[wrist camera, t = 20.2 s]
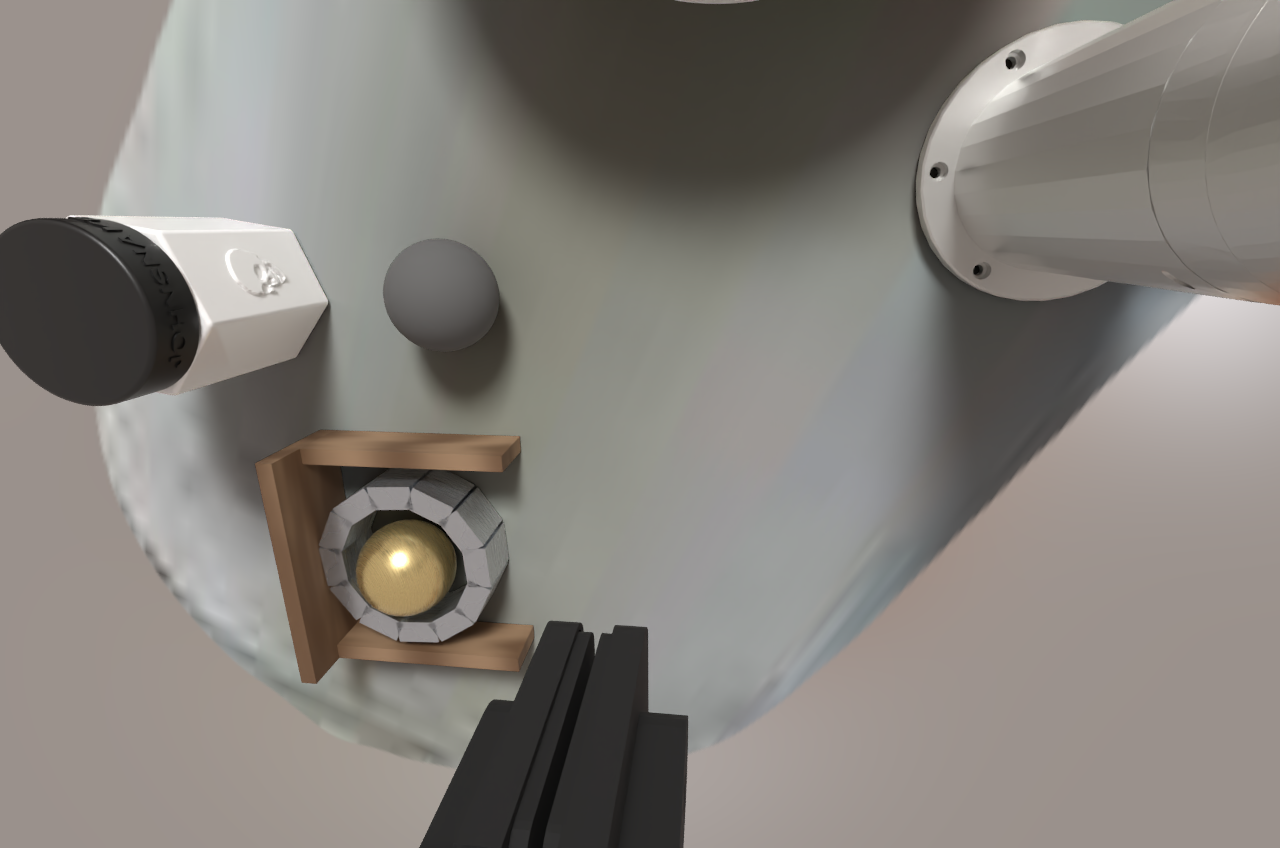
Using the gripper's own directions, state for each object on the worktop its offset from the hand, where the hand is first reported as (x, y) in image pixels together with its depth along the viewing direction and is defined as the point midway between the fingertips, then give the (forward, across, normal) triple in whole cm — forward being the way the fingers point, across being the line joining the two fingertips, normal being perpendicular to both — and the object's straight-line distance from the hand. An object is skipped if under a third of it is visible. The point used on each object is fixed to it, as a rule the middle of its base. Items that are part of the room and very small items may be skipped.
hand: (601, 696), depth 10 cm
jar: (+27, +26, -4) cm, 38 cm away
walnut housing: (+27, +17, +12) cm, 34 cm away
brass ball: (+24, +17, +13) cm, 32 cm away
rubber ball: (+24, +13, -4) cm, 28 cm away
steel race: (+27, +17, +13) cm, 35 cm away
